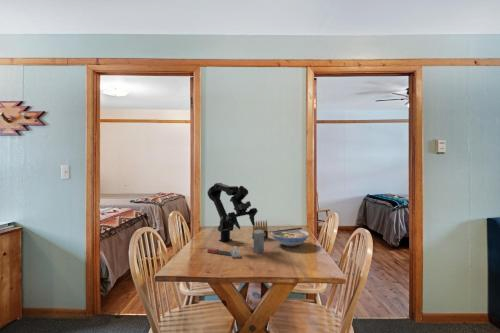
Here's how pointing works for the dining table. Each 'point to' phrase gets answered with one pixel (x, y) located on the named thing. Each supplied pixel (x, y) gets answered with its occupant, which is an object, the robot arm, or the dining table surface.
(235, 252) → the ratchet
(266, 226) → the ammunition clip
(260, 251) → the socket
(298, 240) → the ramen bowl
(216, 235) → the dining table surface
